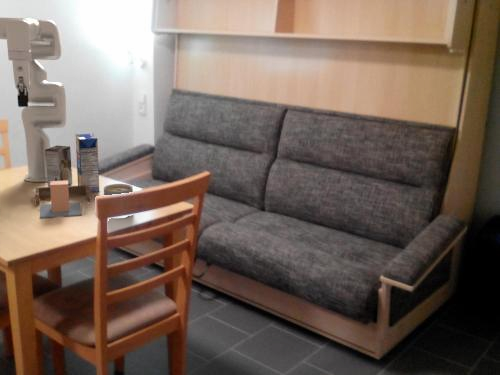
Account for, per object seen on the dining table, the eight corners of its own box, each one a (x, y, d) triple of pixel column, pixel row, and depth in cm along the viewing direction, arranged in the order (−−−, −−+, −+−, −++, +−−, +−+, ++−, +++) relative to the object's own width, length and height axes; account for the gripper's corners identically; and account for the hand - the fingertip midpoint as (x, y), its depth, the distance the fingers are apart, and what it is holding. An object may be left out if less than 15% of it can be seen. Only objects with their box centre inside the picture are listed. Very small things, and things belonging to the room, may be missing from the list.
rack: (36, 197, 208) (36, 187, 206) (88, 194, 214) (88, 185, 213) (35, 205, 199) (35, 195, 198) (90, 202, 205) (89, 192, 204)
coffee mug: (101, 211, 195) (100, 185, 192) (128, 208, 200) (127, 182, 197) (112, 223, 184) (111, 195, 181) (140, 219, 189) (139, 192, 186)
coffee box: (59, 181, 230) (56, 145, 226) (72, 183, 229) (70, 146, 224) (47, 187, 221) (44, 149, 217) (61, 188, 220) (59, 150, 216)
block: (69, 206, 198) (67, 180, 195) (69, 210, 193) (68, 184, 190) (52, 207, 196) (50, 181, 193) (51, 211, 191) (50, 185, 188)
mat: (40, 205, 198) (40, 204, 198) (80, 203, 203) (80, 202, 203) (39, 218, 186) (39, 216, 186) (82, 215, 190) (81, 214, 190)
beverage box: (82, 193, 215) (79, 139, 209) (78, 186, 225) (75, 134, 219) (99, 192, 218) (97, 138, 212) (94, 184, 228) (92, 133, 222)
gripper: (30, 58, 183) (34, 108, 188) (31, 54, 198) (35, 100, 203) (6, 57, 180) (11, 108, 185) (9, 53, 195) (13, 100, 201)
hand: (23, 104), depth 194 cm, fingers open, 9 cm apart
